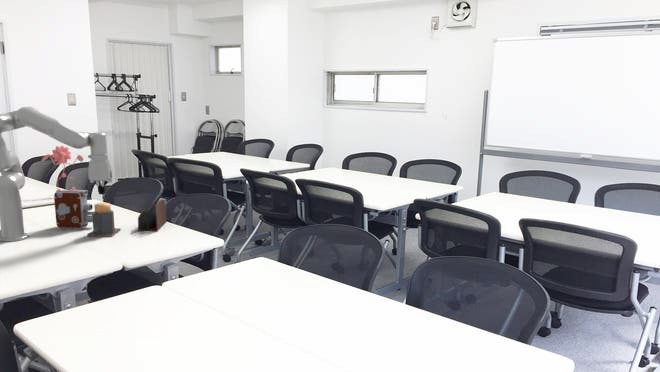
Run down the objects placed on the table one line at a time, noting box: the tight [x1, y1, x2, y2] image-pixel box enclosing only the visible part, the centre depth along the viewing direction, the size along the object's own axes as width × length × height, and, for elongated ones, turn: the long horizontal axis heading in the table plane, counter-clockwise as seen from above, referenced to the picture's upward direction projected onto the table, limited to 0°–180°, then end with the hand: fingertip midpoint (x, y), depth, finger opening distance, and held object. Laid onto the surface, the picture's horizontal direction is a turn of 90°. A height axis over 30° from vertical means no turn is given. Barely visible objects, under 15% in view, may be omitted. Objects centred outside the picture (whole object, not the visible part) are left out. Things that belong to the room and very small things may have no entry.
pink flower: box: [41, 145, 84, 198], centre depth 350 cm, size 15×26×35 cm, turn 136°
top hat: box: [86, 209, 121, 238], centre depth 257 cm, size 12×12×11 cm
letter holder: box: [137, 199, 168, 232], centre depth 271 cm, size 10×20×14 cm, turn 5°
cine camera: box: [53, 189, 94, 230], centre depth 268 cm, size 9×19×20 cm, turn 89°
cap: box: [93, 202, 112, 214], centre depth 256 cm, size 7×7×7 cm
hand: (101, 193), depth 254 cm, fingers closed
